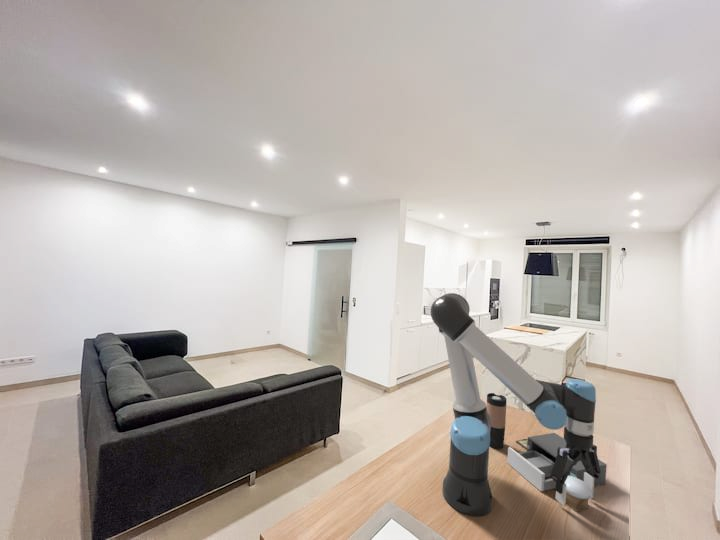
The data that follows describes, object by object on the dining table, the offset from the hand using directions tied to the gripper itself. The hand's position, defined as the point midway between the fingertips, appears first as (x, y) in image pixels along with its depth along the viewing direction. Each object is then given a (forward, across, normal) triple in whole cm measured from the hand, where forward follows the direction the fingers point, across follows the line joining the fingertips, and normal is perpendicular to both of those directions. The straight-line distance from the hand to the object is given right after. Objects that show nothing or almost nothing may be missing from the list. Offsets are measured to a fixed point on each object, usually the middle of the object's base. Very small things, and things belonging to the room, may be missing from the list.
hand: (574, 498), depth 95 cm
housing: (+2, +13, +14) cm, 19 cm away
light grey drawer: (+2, +1, +14) cm, 14 cm away
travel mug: (+2, -2, +33) cm, 33 cm away
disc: (-3, 0, 0) cm, 3 cm away
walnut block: (+2, 0, 0) cm, 2 cm away
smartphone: (+2, +12, +24) cm, 27 cm away
